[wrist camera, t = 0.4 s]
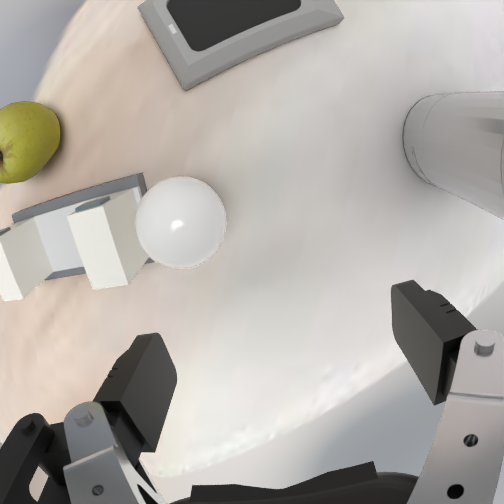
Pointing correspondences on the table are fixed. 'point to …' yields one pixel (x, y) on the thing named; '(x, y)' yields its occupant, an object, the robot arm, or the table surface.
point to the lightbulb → (180, 222)
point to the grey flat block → (229, 30)
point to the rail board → (57, 226)
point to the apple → (26, 140)
